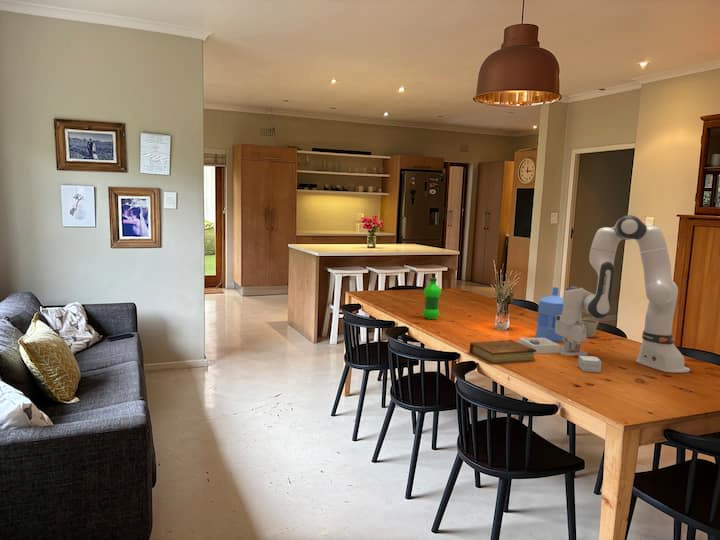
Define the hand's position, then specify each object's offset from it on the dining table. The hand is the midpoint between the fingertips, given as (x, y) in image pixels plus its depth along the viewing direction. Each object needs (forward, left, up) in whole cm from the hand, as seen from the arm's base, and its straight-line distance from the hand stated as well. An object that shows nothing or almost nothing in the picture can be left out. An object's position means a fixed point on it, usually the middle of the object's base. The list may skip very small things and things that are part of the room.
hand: (569, 347), depth 254 cm
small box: (-25, +7, -3) cm, 26 cm away
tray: (+1, 0, -3) cm, 3 cm away
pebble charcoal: (+5, +16, -2) cm, 17 cm away
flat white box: (+5, +14, -3) cm, 15 cm away
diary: (-4, +38, -3) cm, 38 cm away
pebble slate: (0, 0, -1) cm, 1 cm away
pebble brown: (+1, -4, -2) cm, 4 cm away
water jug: (+26, -6, -3) cm, 27 cm away
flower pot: (+31, -32, -3) cm, 45 cm away
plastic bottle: (+77, +44, -3) cm, 88 cm away
